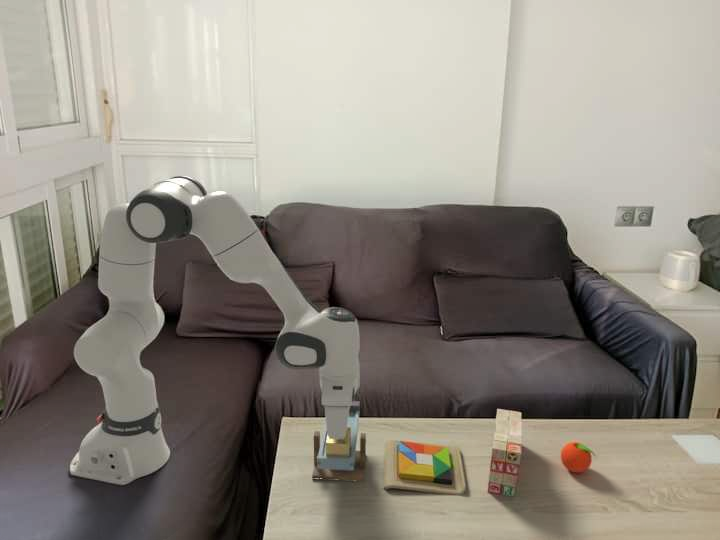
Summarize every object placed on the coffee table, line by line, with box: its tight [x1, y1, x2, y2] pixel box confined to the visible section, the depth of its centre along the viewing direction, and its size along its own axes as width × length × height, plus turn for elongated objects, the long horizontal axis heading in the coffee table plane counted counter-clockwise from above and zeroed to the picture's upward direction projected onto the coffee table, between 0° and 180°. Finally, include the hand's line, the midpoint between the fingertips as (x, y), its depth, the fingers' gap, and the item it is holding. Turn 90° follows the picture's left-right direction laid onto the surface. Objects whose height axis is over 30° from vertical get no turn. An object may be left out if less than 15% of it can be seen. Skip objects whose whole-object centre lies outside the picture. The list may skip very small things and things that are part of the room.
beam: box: [317, 400, 361, 470], centre depth 134 cm, size 22×8×3 cm, turn 177°
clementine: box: [560, 441, 597, 473], centre depth 136 cm, size 8×7×7 cm
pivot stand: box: [311, 430, 367, 482], centre depth 136 cm, size 10×12×9 cm
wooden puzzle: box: [382, 439, 467, 496], centre depth 137 cm, size 18×19×4 cm
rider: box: [326, 427, 351, 457], centre depth 126 cm, size 6×5×5 cm
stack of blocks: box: [487, 408, 523, 499], centre depth 136 cm, size 21×6×12 cm, turn 163°
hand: (340, 431), depth 130 cm, fingers closed
